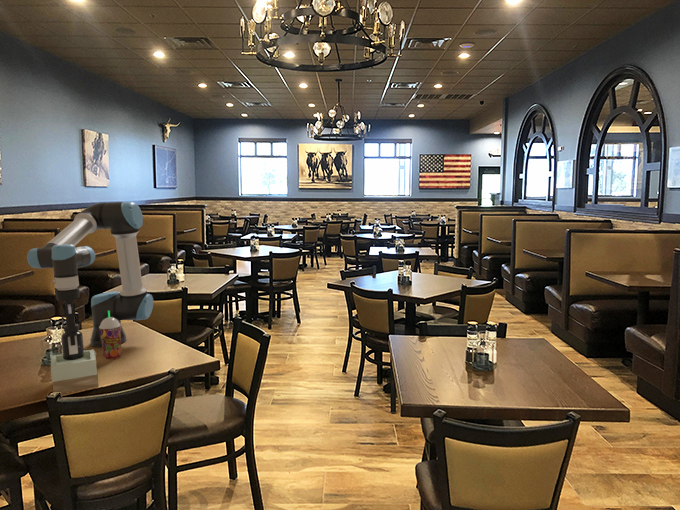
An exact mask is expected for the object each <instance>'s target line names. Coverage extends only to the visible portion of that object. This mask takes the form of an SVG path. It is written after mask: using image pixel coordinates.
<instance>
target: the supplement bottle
mask: <svg viewBox="0 0 680 510" xmlns="http://www.w3.org/2000/svg"><path fill="white" fill-rule="evenodd" d="M75 328H76V333H77V334H76V336H77V347H78V353H77V354H71V355H70V354H69V344H68V337H66V335H68V329H67V325H63V333H62V334H61V336H60V337H61V338H60V340H61V350H62V354H63V359H64V360H77V359H80V358H82V357H83V356H84V351H85V350H84V349H85V348H84V339H83V337H84V336H83V333H82V331H79V330H80V325H79V324H78V323H75ZM70 333H71V332H70Z"/></svg>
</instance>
